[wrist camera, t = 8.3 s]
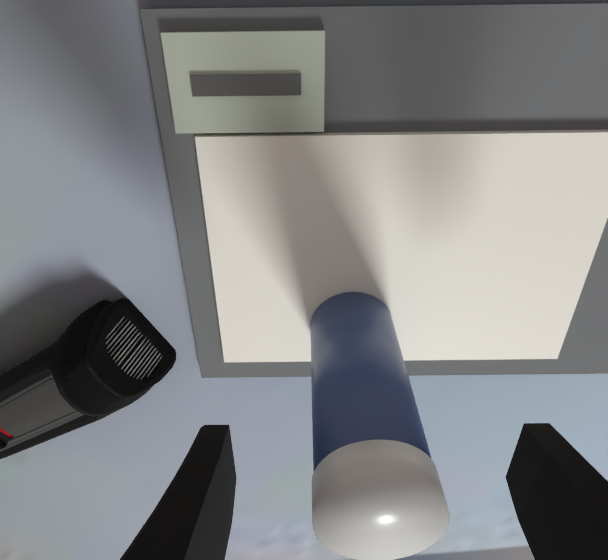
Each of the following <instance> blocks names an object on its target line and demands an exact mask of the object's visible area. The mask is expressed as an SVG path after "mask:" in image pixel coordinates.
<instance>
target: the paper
mask: <svg viewBox="0 0 608 560" xmlns="http://www.w3.org/2000/svg"><path fill="white" fill-rule="evenodd" d="M195 143H196V151H197V158H198V166H199V174H200V181H201V189H202V197H203V204H204V212H205V220H206V227H207V235H208V242H209V250H210V258H211V265H212V273H213V281H214V288H215V296H216V304H217V311H218V319H219V326H220V334H221V342H222V349H223V357H224V362H311V332H310V325H311V319H312V316H313V314H314V312H315V310H316V309H317V308H318V307H319V305H321V304H322V303H323V302H324V301H325V300H327V299H328V298H330V297H332V296H335V295H337V294H341V293H346V292H361V293H366V294H369V295H372V296H374V297H376V298H378V299H379V300H380V301H382V302H383V303H384V304H385V305H386V306H387V308H388V309H389V311H390V314H391V317H392V321H393V324H394V328H395V331H396V335H397V338H398V342H399V345H400V349H401V353H402V356H403V360H404V361H410V360H504V359H558V356H559V353H560V350H561V347H562V345H563V342H564V339H565V336H566V333H567V330H568V328H569V325H570V322H571V319H572V316H573V314H574V311H575V308H576V305H577V302H578V300H579V297H580V294H581V291H582V288H583V286H584V283H585V280H586V277H587V274H588V272H589V269H590V266H591V263H592V260H593V258H594V255H595V252H596V249H597V246H598V244H599V241H600V238H601V235H602V232H603V230H604V227H605V224H606V221H607V218H608V130H531V131H445V132H359V133H273V134H197V135H196V136H195Z"/></svg>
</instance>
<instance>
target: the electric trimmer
mask: <svg viewBox="0 0 608 560" xmlns="http://www.w3.org/2000/svg"><path fill="white" fill-rule="evenodd" d="M175 360H176V352H175V349H174V348H173V347H172V346H171V345H170V344H169V343H168V342H167V340H166V339H165V338H164V337H163V336H162V335H161V334H160V333H159V332H158V331H157V330H156V328H155V327H154V326H153V325H152V324H151V323H150V322H149V321H148V320H147V319H146V318H145V316H144V315H143V314H142V313H141V312H140V311H139V310H138V309H137V308H136V307H135V306H134V304H133V303H132V302H131V301H130V300H129V299H123V298H122V299H120V300H118V301H115V302H113V303H112V302H110V301H107V300H103V301H101V302H99V303H97V304H96V305H94V306H92V307H91V308H89V309H88V310H86V311H85V312H83V313H82V314H80V315H79V316H78V317H77V318H76V319H75V320H74V321H73V322H72V323H71V325H70V326H69V327H68V328H67V329H66V331H65V332H64V333H63V334H62V336H61V337H60V338H59V339H58V340H57V342H55V343H54V344H53V345H51V346H50V347H48V348H47V349H45V350H43V351H42V352H40V353H38V354H37V355H35V356H34V357H32V358H30V359H29V360H27V361H25V362H24V363H22V364H20V365H18V366H16V367H15V368H13V369H11V370H9V371H8V372H6V373H4V374H2V375H1V376H0V459H2V458H5V457H7V456H10V455H13V454H15V453H18V452H20V451H23V450H25V449H28V448H30V447H33V446H35V445H38V444H40V443H42V442H45V441H47V440H50V439H52V438H55V437H57V436H60V435H62V434H65V433H67V432H70V431H72V430H75V429H77V428H80V427H82V426H85V425H87V424H90V423H92V422H95V421H97V420H100V419H102V418H104V417H106V416H108V415H110V414H111V413H113V412H115V411H117V410H119V409H121V408H123V407H125V406H127V405H129V404H131V403H133V402H134V401H136V400H137V399H139V398H140V397H141V396H143V395H144V394H145V393H146V392H147V391H148V390H149V389H150V388H151V387H152V386H153V385H154V384H156V383H157V382H159V381H160V380H161V379H162V378H163V377H164V376H165V375H166V374H167V373H168V372H169V371H170V369H171V368H172V367H173V365H174V363H175Z"/></svg>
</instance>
